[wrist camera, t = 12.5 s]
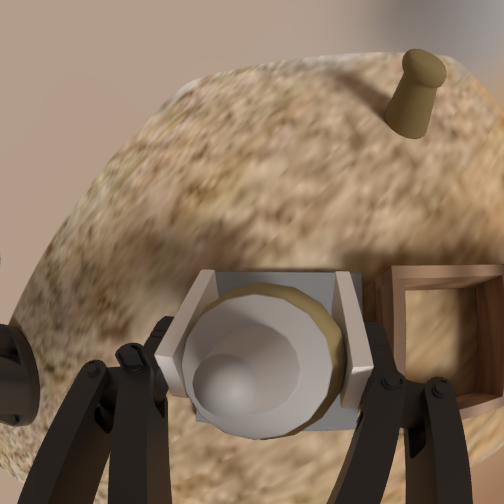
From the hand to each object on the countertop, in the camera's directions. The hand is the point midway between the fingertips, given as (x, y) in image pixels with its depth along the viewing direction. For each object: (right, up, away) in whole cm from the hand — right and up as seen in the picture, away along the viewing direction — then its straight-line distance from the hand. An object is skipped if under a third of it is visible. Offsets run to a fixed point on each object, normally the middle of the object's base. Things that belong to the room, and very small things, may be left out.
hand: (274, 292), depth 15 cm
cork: (+19, +19, +14) cm, 30 cm away
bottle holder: (+16, -7, +6) cm, 18 cm away
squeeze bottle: (+1, -6, +6) cm, 8 cm away
